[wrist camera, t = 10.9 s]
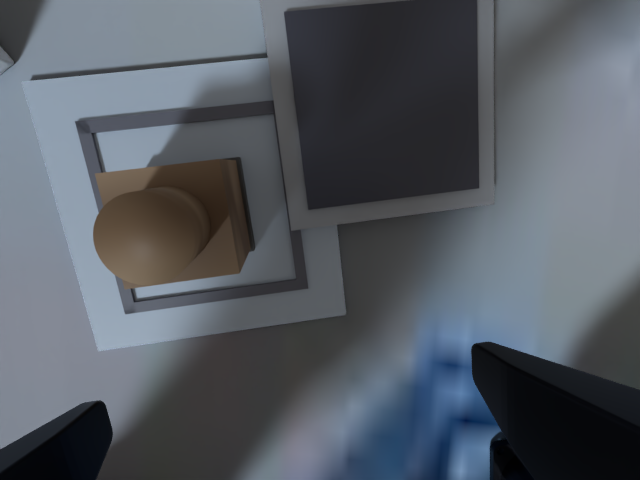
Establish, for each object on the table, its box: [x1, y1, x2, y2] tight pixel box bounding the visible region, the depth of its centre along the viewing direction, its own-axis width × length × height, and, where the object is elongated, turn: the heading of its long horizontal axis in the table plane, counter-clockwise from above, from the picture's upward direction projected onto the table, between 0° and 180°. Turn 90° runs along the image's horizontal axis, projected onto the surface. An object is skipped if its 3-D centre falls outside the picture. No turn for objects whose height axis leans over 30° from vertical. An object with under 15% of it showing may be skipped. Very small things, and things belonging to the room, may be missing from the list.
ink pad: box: [260, 0, 494, 231], centre depth 17 cm, size 11×11×2 cm
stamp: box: [93, 157, 256, 289], centre depth 14 cm, size 5×5×8 cm
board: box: [22, 58, 346, 351], centre depth 18 cm, size 14×14×1 cm
